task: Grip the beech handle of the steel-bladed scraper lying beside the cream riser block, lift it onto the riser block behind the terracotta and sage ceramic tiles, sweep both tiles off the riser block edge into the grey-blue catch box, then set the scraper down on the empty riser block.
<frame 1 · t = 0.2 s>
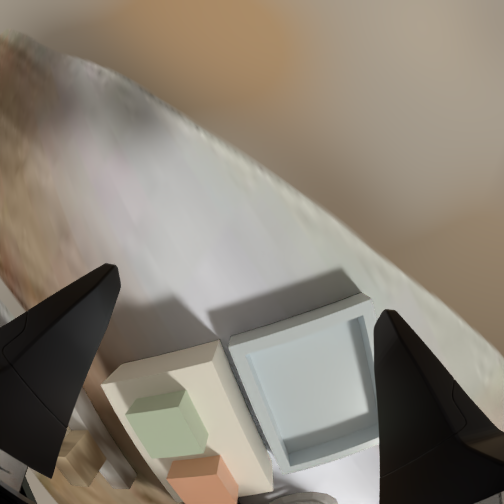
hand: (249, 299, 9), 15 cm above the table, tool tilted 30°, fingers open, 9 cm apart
catch box: (319, 388, 25), on the table
terracotta tile: (206, 474, 21), point 4 cm above the table, touching cream riser block
sage tile: (172, 417, 21), point 4 cm above the table, touching cream riser block
scraper: (100, 430, 26), on the table
cream riser block: (198, 420, 25), on the table
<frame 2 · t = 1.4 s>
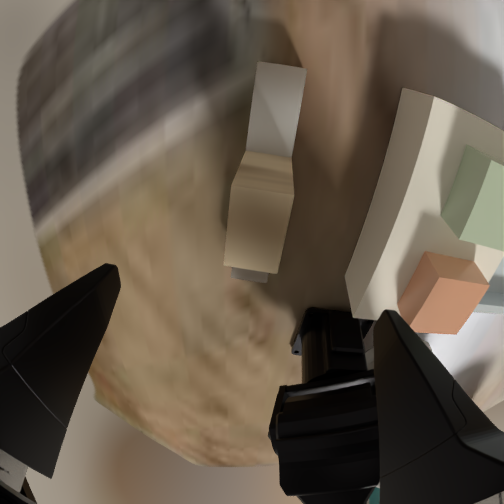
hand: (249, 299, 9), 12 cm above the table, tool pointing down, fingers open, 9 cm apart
terracotta tile: (436, 283, 17), point 4 cm above the table, touching cream riser block
sage tile: (480, 190, 13), point 4 cm above the table, touching cream riser block
scraper: (266, 169, 19), on the table
cream riser block: (432, 206, 19), on the table
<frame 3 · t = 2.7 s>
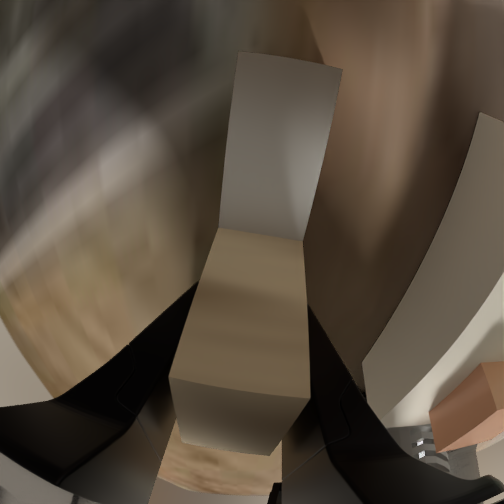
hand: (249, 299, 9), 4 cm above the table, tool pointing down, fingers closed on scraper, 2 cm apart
glass holder: (439, 458, 34), on the table
french press: (407, 427, 24), on the table
terracotta tile: (481, 387, 11), point 4 cm above the table, touching cream riser block
scraper: (258, 236, 12), on the table, touching gripper
cream riser block: (488, 280, 12), on the table
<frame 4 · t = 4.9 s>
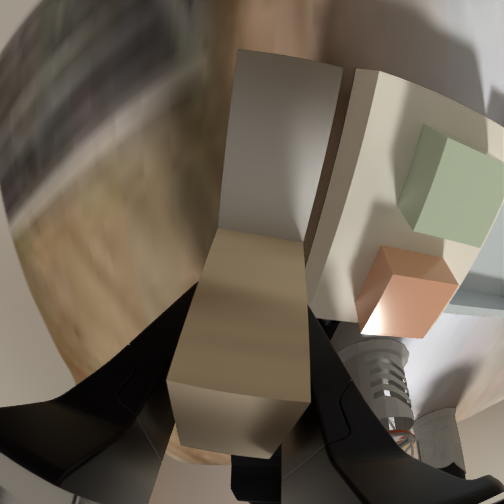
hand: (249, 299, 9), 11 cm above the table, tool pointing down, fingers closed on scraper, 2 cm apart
glass holder: (419, 423, 41), on the table
french press: (371, 367, 30), on the table
terracotta tile: (399, 281, 17), point 4 cm above the table, touching cream riser block
sage tile: (445, 177, 13), point 4 cm above the table, touching cream riser block
scraper: (258, 237, 12), point 8 cm above the table, touching gripper
cream riser block: (398, 198, 18), on the table
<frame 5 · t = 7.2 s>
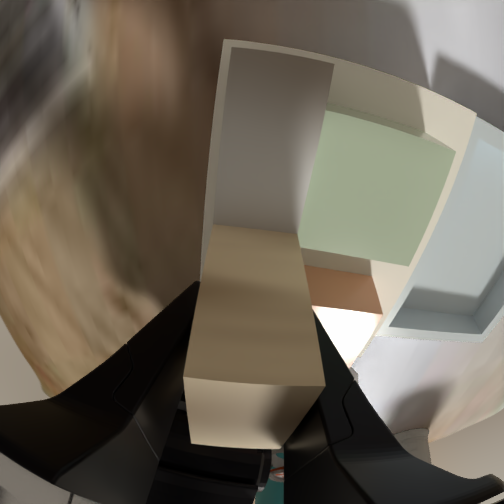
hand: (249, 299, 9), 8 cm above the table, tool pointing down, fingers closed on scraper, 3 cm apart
glass holder: (388, 442, 39), on the table
catch box: (471, 239, 16), on the table
french press: (315, 387, 28), on the table
terracotta tile: (314, 303, 15), point 5 cm above the table
sage tile: (358, 170, 11), point 5 cm above the table, touching scraper
beverage bottle: (285, 430, 35), on the table
scraper: (248, 232, 12), point 5 cm above the table, tilted 5°, touching gripper, sage tile
cream riser block: (312, 198, 16), on the table
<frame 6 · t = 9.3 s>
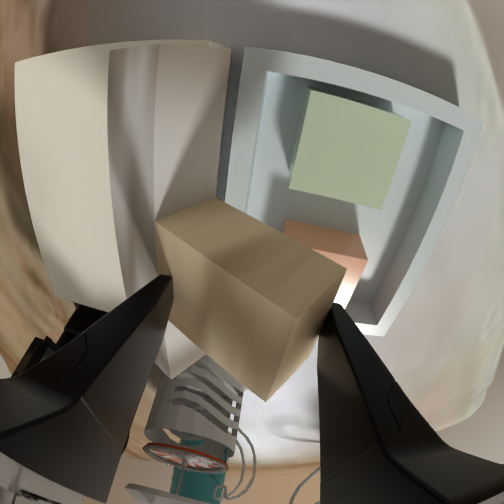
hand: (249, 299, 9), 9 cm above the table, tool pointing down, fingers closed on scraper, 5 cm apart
catch box: (334, 203, 16), on the table
french press: (214, 372, 28), on the table
terracotta tile: (315, 285, 16), point 3 cm above the table, tilted 180°, touching catch box
sage tile: (350, 153, 12), point 3 cm above the table, tilted 180°, touching catch box
beverage bottle: (210, 420, 35), on the table
scraper: (141, 224, 12), point 6 cm above the table, tilted 56°, touching cream riser block, gripper
cream riser block: (133, 171, 17), on the table
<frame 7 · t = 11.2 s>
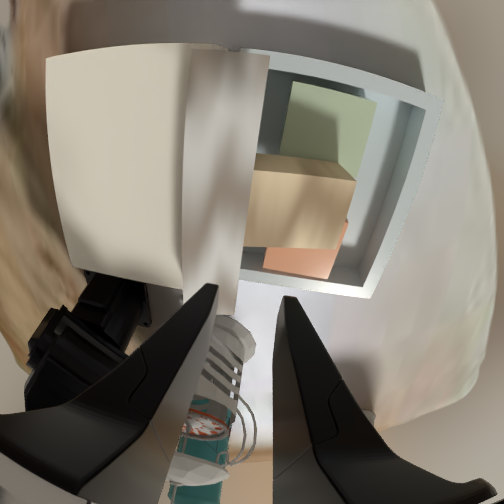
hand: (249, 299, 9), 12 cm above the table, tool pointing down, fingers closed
catch box: (319, 177, 19), on the table
french press: (216, 345, 31), on the table
terracotta tile: (304, 246, 19), point 3 cm above the table, tilted 180°, touching catch box, scraper
sage tile: (327, 130, 15), point 3 cm above the table, tilted 180°, touching catch box, scraper
beverage bottle: (212, 398, 38), on the table
scraper: (183, 195, 14), point 6 cm above the table, tilted 103°, touching cream riser block, sage tile, terracotta tile
cream riser block: (146, 153, 19), on the table
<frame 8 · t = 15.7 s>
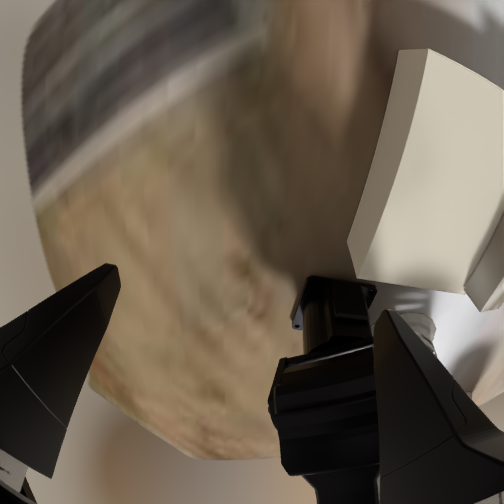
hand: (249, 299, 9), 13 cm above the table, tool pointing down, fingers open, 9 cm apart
french press: (399, 344, 30), on the table
cream riser block: (434, 169, 19), on the table
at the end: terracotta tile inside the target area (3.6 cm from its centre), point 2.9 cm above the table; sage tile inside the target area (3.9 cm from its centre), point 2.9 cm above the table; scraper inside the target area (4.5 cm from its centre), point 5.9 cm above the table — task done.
